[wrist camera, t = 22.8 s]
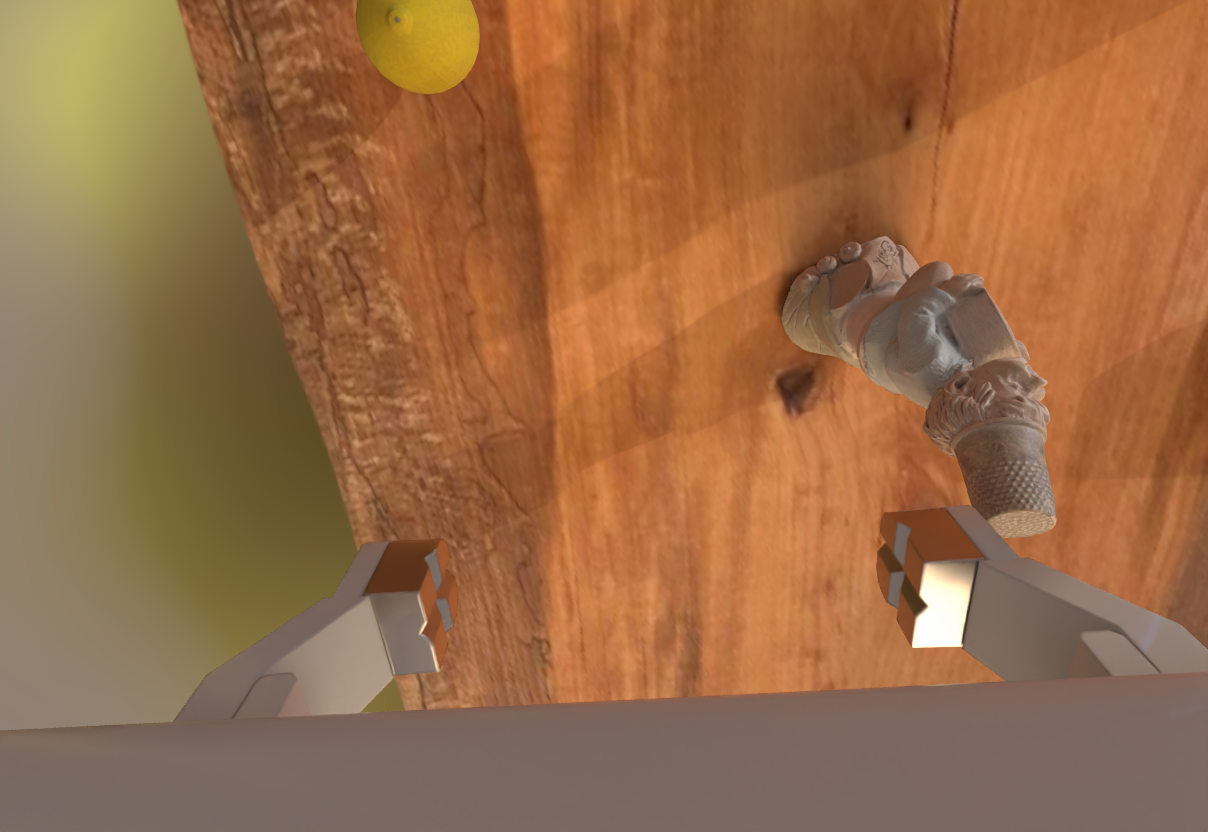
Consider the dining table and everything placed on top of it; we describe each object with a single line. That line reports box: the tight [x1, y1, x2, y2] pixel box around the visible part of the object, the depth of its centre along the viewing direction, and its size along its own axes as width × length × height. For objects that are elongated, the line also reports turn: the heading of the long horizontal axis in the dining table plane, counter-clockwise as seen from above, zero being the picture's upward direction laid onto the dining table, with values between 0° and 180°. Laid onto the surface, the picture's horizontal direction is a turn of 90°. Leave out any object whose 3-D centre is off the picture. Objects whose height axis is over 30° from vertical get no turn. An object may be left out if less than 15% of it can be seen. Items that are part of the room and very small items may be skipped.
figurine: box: [781, 236, 1057, 538], centre depth 32 cm, size 9×8×20 cm
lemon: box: [356, 0, 480, 94], centre depth 32 cm, size 6×6×8 cm
